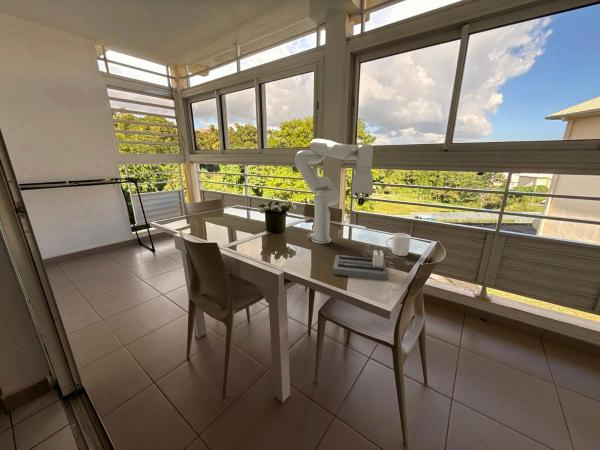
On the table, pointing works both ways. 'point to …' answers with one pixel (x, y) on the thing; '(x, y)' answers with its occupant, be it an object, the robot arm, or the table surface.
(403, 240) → the mug
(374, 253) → the breaker toggle
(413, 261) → the table surface
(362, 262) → the breaker panel
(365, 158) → the robot arm
